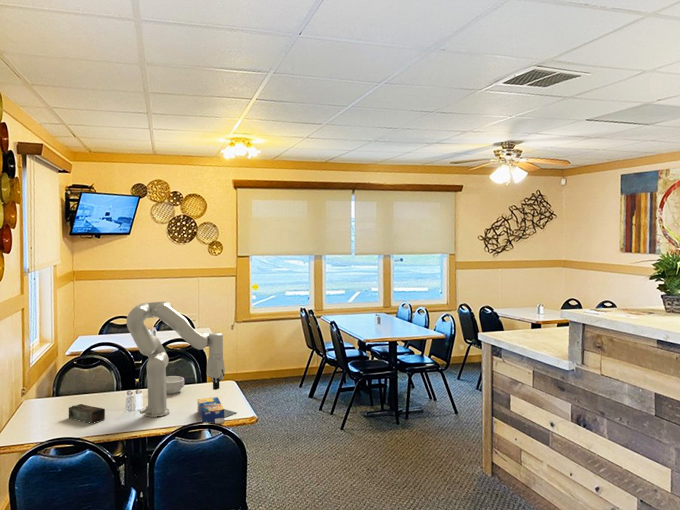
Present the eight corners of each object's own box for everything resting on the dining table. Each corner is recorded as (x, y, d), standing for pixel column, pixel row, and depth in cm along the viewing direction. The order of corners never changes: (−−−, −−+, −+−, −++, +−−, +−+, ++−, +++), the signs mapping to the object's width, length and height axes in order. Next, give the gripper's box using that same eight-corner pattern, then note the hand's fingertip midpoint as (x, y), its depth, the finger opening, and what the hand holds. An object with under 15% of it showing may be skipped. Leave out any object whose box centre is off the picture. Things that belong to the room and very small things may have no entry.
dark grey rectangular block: (81, 414, 289) (81, 402, 289) (105, 420, 280) (105, 407, 280) (68, 418, 282) (67, 406, 282) (92, 425, 273) (92, 412, 273)
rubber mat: (219, 419, 281) (219, 418, 281) (204, 414, 288) (204, 414, 288) (236, 413, 290) (236, 412, 290) (221, 409, 298) (221, 408, 298)
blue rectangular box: (217, 409, 297) (224, 422, 277) (197, 411, 293) (202, 425, 273) (217, 397, 297) (224, 409, 277) (197, 399, 293) (202, 411, 273)
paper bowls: (189, 391, 330) (189, 378, 330) (166, 397, 319) (166, 383, 319) (175, 386, 341) (175, 374, 340) (153, 391, 329) (153, 379, 329)
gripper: (201, 355, 294) (201, 388, 295) (219, 359, 286) (220, 393, 286) (212, 352, 301) (212, 385, 301) (230, 356, 292) (230, 390, 292)
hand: (216, 389), depth 294 cm, fingers closed
